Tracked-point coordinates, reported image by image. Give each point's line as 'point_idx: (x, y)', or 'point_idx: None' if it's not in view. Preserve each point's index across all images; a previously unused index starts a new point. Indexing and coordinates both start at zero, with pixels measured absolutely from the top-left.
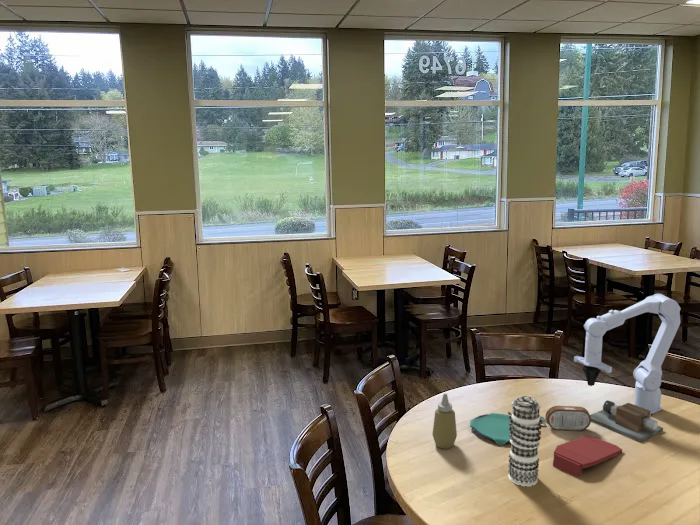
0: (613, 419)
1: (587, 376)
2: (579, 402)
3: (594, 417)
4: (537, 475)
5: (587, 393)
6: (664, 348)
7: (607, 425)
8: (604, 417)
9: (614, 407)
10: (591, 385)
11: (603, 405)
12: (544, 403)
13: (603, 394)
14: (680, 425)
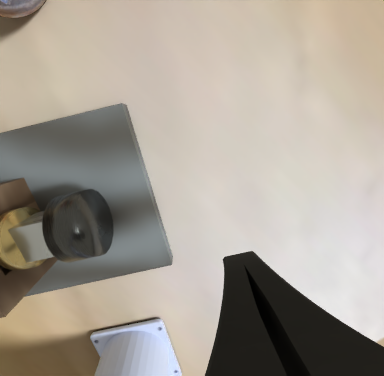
0: None
1: (292, 313)
2: (274, 199)
3: (99, 131)
4: None
5: (316, 279)
6: None
7: (13, 130)
8: (89, 176)
9: (23, 228)
10: (224, 265)
11: (78, 197)
12: (355, 25)
13: None
14: (13, 361)
